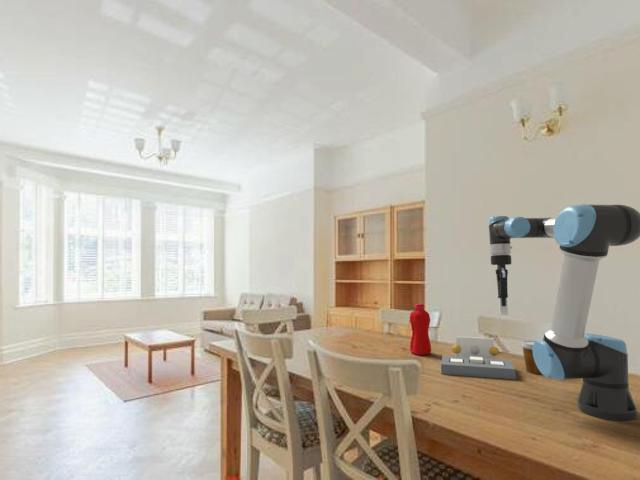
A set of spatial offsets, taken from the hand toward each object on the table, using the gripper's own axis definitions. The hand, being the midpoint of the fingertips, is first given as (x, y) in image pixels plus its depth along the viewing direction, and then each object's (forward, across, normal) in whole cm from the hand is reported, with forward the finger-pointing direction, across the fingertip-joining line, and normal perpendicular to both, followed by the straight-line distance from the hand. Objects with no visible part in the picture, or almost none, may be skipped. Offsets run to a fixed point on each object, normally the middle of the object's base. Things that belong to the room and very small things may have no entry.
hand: (503, 314), depth 160 cm
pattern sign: (+24, +27, +10) cm, 38 cm away
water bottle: (+24, +37, +36) cm, 57 cm away
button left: (+24, +11, +18) cm, 32 cm away
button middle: (+23, +11, +10) cm, 27 cm away
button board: (+25, +11, +10) cm, 29 cm away
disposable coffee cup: (+25, +16, -13) cm, 32 cm away
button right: (+24, +10, +2) cm, 26 cm away
